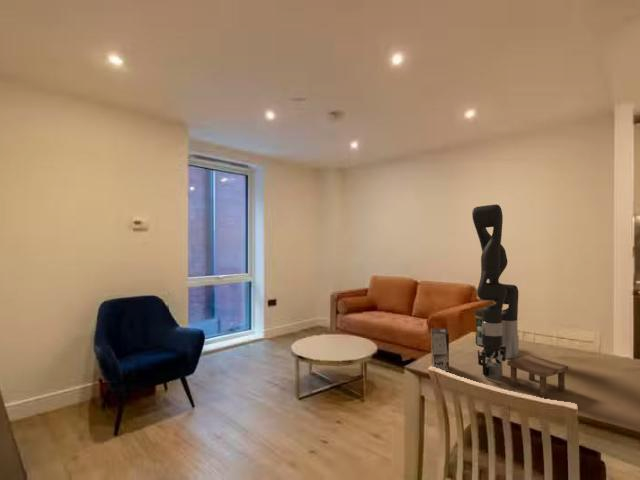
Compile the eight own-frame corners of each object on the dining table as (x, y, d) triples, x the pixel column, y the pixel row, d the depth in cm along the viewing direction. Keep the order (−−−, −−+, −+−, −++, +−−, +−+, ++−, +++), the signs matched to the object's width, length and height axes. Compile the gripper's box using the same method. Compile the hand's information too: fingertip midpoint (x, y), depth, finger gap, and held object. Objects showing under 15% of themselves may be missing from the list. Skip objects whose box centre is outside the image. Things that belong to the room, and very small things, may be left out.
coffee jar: (486, 341, 192) (485, 306, 192) (498, 345, 185) (498, 309, 185) (472, 343, 188) (472, 308, 188) (484, 348, 181) (484, 311, 181)
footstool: (530, 377, 144) (530, 354, 144) (568, 390, 132) (568, 366, 132) (507, 384, 138) (507, 361, 138) (544, 399, 125) (544, 373, 125)
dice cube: (498, 380, 142) (498, 367, 142) (485, 376, 146) (484, 364, 146) (502, 376, 146) (502, 363, 146) (489, 373, 149) (489, 361, 149)
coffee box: (449, 372, 151) (449, 333, 150) (433, 371, 152) (432, 333, 152) (446, 364, 160) (446, 328, 159) (431, 363, 161) (430, 327, 161)
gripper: (495, 328, 152) (495, 367, 152) (471, 333, 145) (471, 374, 146) (512, 332, 145) (512, 373, 146) (487, 337, 139) (488, 380, 139)
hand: (492, 373), depth 146 cm, fingers open, 7 cm apart
